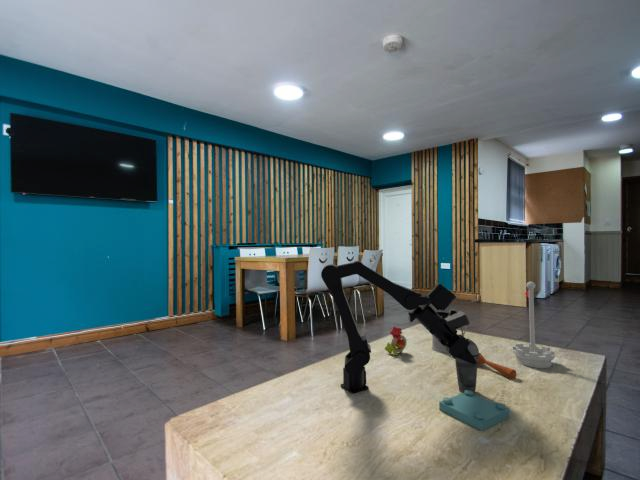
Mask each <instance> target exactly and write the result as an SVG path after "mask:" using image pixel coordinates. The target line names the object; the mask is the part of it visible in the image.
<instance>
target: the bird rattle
mask: <svg viewBox="0 0 640 480" xmlns="http://www.w3.org/2000/svg"><path fill="white" fill-rule="evenodd" d="M389 334H390V335H391V336H392V339H391V340H390V341H391V342H387V344H386V346H385V347H384V350H385V351H386V352H387V353H388V354H389V353H390V354H393V356H397V355H398V356H399V353H401V352H402V353H403V351H404V350H405V349H406V348H407V347H406V346H407V343H408V342H407V338H406V337H405V336H404V334H403V331H402V328H401V327H395V326H392V330H390V331H389Z"/></svg>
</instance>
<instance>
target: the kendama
mask: <svg viewBox="0 0 640 480" xmlns="http://www.w3.org/2000/svg"><path fill="white" fill-rule="evenodd" d="M485 364H486V365H487V366H488V367H490V368H492V369H493V370H495V371H497V373H500V375H501V374H502V375H503V376H505V377H507V378H508V379H510V380H513V379H516V378H517V371H516V370H515V369H513V368H511V367H508V366H504V365H501V364H497V363H494V362H492V361H488V360H487V359H486V358H485V357H484V356H483V354H482V353H480V352H479V359H478V364H477V365H485Z"/></svg>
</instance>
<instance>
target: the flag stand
mask: <svg viewBox="0 0 640 480" xmlns="http://www.w3.org/2000/svg"><path fill="white" fill-rule="evenodd" d="M525 287H526V288H527V289H528V290H527V291H526V292H525V293H524V295H525V296H526V297H527V298H528V311H529V312H528V313H529V314H528V315H529V342H528V344H527V345H524V343H522V342H518V343H515V344H513V345H512V353H513V355H514V356H515V361H516V362H517V363H518V364H521V365H523V366H525V367H526V366H527V367H530V368H537V369H546V368H551V367H552V361H553V360H554V359H555V358H556V357H555V349H551V347H549V346H547V345H542V346H541V347H537V344H536V336H535V335H536V332H535V325H536V324H535V302H534V301H535V298H534V296H535V295H534V290H535V289H536V283H535V282H534V281H528V282H526V285H525Z"/></svg>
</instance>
